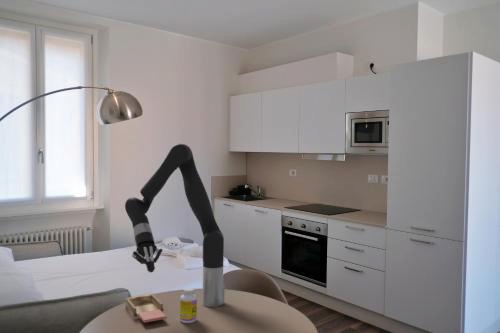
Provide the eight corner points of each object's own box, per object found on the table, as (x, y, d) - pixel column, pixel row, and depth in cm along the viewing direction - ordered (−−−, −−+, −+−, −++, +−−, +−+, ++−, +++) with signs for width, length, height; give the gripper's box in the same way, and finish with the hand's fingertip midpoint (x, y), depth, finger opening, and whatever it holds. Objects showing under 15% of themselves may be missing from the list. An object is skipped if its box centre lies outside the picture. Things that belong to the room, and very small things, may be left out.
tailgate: (159, 309, 165) (166, 315, 158) (159, 312, 165) (166, 319, 158) (137, 313, 161) (144, 320, 153) (137, 316, 161) (144, 323, 153)
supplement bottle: (193, 324, 157) (193, 292, 157) (177, 322, 158) (177, 290, 158) (198, 318, 163) (199, 287, 163) (183, 316, 165) (184, 285, 165)
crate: (152, 304, 179) (152, 294, 179) (163, 315, 166) (163, 304, 166) (125, 308, 172) (125, 298, 172) (134, 320, 160) (134, 309, 160)
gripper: (129, 232, 165) (137, 268, 155) (160, 229, 172) (169, 264, 162) (126, 242, 170) (133, 278, 160) (156, 239, 177) (165, 274, 166)
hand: (151, 271), depth 161 cm, fingers closed
